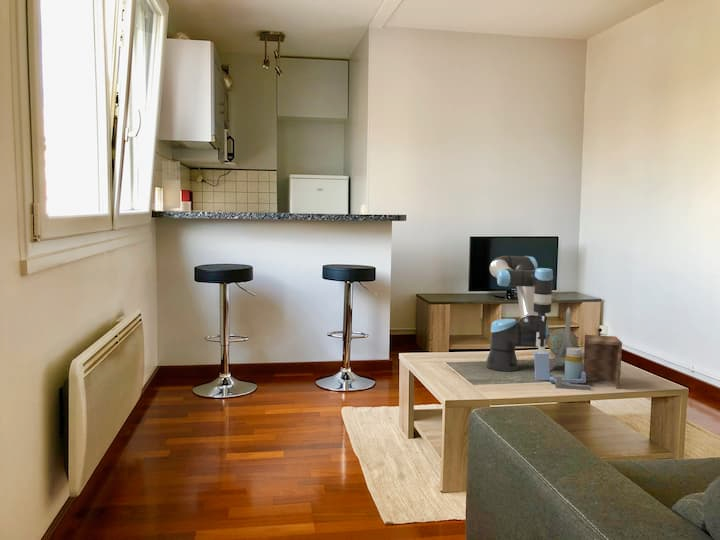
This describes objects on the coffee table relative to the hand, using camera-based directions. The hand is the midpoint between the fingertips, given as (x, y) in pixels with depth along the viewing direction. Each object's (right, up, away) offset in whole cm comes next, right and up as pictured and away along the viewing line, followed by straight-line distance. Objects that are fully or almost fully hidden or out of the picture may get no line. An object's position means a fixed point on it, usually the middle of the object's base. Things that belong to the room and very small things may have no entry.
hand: (540, 349), depth 264 cm
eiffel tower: (+18, -12, +20) cm, 29 cm away
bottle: (+14, -14, -3) cm, 20 cm away
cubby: (+25, -14, -5) cm, 29 cm away
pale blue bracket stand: (+8, -13, -2) cm, 15 cm away
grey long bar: (+10, -15, -13) cm, 22 cm away
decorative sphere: (+25, -10, +45) cm, 52 cm away
